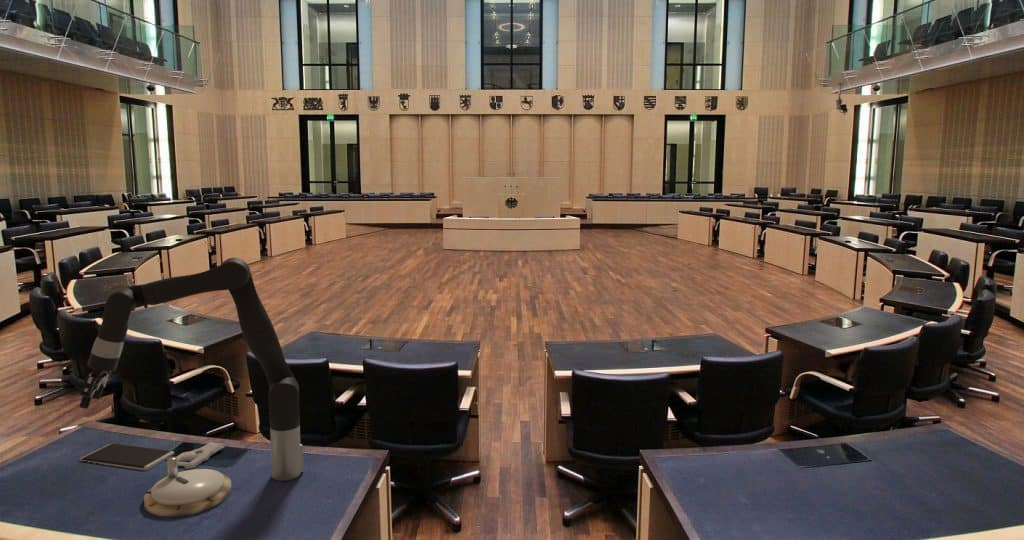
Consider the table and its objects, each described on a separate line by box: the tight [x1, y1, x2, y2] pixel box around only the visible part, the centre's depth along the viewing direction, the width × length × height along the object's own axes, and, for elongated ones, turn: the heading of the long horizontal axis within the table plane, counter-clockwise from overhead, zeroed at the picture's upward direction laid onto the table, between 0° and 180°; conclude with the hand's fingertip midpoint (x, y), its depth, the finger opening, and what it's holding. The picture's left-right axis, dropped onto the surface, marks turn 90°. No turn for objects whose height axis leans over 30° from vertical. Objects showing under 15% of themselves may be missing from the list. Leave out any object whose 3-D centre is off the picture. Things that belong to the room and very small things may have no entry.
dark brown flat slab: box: [80, 442, 175, 471], centre depth 218 cm, size 13×27×2 cm, turn 78°
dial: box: [151, 456, 224, 506], centre depth 193 cm, size 20×20×8 cm
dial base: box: [143, 473, 232, 518], centre depth 194 cm, size 24×24×2 cm
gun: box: [176, 441, 225, 470], centre depth 219 cm, size 18×4×10 cm
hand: (89, 403), depth 188 cm, fingers open, 8 cm apart
